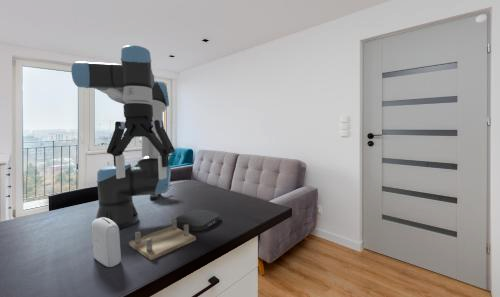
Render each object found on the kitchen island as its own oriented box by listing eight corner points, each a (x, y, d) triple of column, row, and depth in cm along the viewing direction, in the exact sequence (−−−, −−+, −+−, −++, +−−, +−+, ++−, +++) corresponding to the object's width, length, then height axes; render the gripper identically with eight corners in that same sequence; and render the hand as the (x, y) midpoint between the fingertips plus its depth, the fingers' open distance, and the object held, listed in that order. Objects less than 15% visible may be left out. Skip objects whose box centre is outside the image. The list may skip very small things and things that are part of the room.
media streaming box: (195, 213, 107) (195, 207, 107) (223, 219, 100) (222, 212, 100) (170, 226, 94) (170, 218, 94) (200, 233, 87) (200, 225, 87)
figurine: (169, 199, 127) (168, 170, 126) (146, 200, 125) (145, 171, 124) (171, 194, 136) (170, 167, 135) (150, 195, 134) (149, 168, 133)
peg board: (129, 245, 79) (128, 231, 78) (172, 228, 91) (172, 216, 90) (150, 260, 70) (150, 244, 69) (196, 240, 82) (195, 226, 81)
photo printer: (91, 257, 71) (88, 217, 70) (106, 251, 75) (104, 212, 74) (107, 270, 65) (104, 225, 64) (123, 262, 69) (121, 220, 67)
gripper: (89, 104, 67) (93, 179, 68) (171, 99, 62) (174, 181, 63) (110, 107, 75) (114, 175, 76) (185, 103, 70) (187, 176, 71)
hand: (141, 178), depth 69 cm, fingers open, 13 cm apart
